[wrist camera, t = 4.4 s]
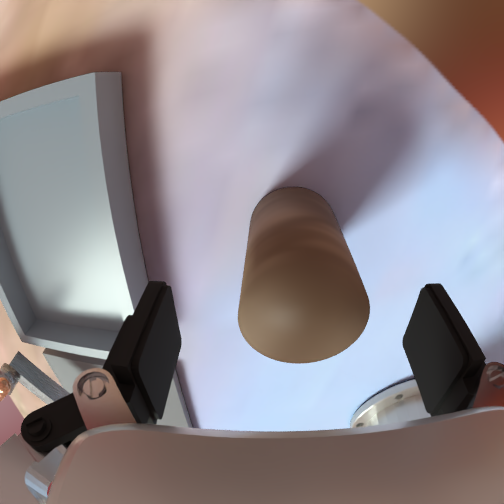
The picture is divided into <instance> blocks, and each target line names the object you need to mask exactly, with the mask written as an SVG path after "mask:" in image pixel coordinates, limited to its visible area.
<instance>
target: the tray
mask: <svg viewBox="0 0 504 504" xmlns="http://www.w3.org/2000/svg"><path fill="white" fill-rule="evenodd" d="M147 284H148V279H147V274H146V269H145V264H144V259H143V254H142V248H141V243H140V238H139V232H138V226H137V220H136V214H135V208H134V201H133V194H132V187H131V180H130V172H129V164H128V155H127V146H126V136H125V125H124V112H123V98H122V79H121V72H93V73H89V74H85V75H81V76H77V77H73V78H69V79H66V80H62V81H59V82H55V83H52V84H49V85H45V86H42V87H39V88H36V89H33V90H30V91H27V92H24V93H22V94H19V95H16V96H13V97H11V98H8V99H6V100H3V101H1V102H0V299H1V301H2V304H3V306H4V308H5V310H6V312H7V314H8V316H9V318H10V320H11V322H12V324H13V326H14V328H15V330H16V332H17V334H18V335H19V337H20V339H21V341H22V342H25V343H29V344H33V345H37V346H41V347H45V348H50V349H54V350H59V351H63V352H68V353H73V354H78V355H84V356H89V357H94V358H100V359H107V357H108V354H109V352H110V350H111V348H112V346H113V344H114V341H115V339H116V337H117V335H118V333H119V331H120V329H121V327H122V325H123V322H124V320H125V319H126V317H127V316H128V315H133V313H134V311H135V309H136V307H137V305H138V303H139V300H140V298H141V296H142V294H143V292H144V290H145V288H146V286H147Z"/></svg>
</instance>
